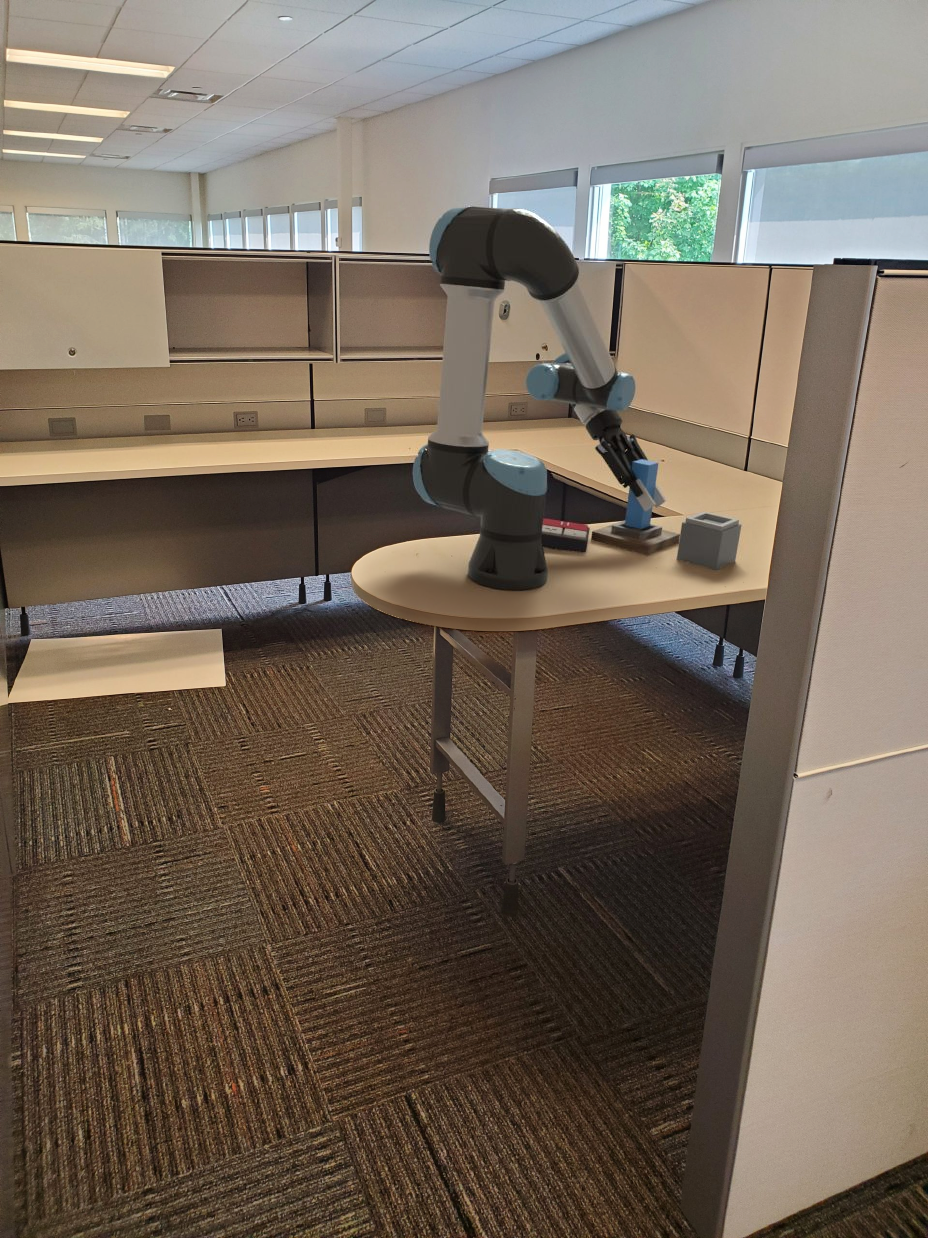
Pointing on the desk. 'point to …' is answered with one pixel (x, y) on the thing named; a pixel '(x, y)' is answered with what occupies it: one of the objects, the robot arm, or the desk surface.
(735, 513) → the desk surface
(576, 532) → the black and red block
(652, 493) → the plug
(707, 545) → the upper socket block
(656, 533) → the lower socket plate
